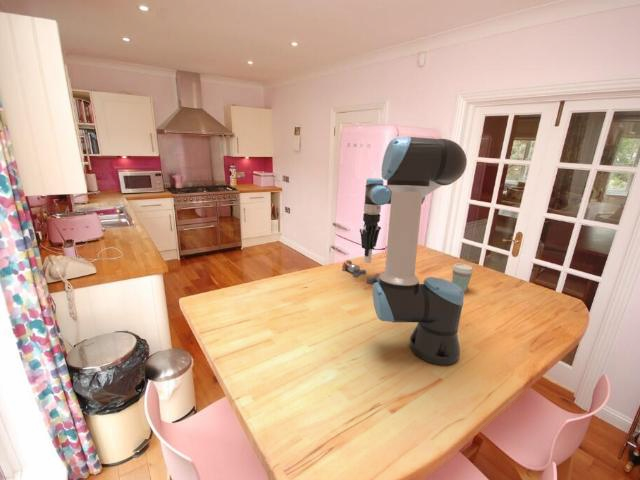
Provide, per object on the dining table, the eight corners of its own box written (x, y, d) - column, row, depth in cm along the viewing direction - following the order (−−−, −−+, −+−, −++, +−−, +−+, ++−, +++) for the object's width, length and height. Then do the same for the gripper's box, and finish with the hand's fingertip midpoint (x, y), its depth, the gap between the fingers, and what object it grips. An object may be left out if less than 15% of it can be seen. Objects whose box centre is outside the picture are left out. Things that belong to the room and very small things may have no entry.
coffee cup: (464, 287, 140) (469, 263, 137) (472, 296, 132) (477, 270, 129) (446, 286, 141) (450, 262, 138) (452, 294, 133) (456, 269, 129)
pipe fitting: (382, 291, 132) (383, 278, 130) (340, 273, 150) (341, 261, 149) (393, 286, 138) (395, 274, 136) (351, 270, 156) (352, 258, 154)
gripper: (369, 215, 128) (364, 267, 135) (387, 213, 137) (382, 261, 143) (356, 213, 134) (352, 262, 140) (374, 210, 142) (369, 257, 149)
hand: (367, 261), depth 142 cm, fingers closed
